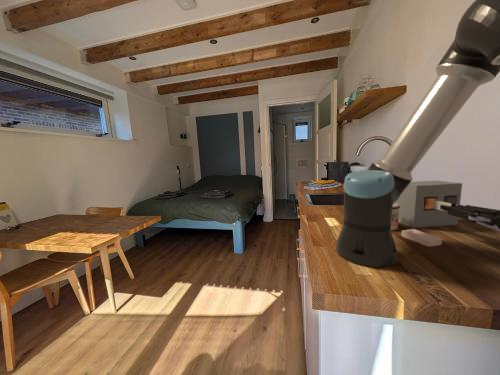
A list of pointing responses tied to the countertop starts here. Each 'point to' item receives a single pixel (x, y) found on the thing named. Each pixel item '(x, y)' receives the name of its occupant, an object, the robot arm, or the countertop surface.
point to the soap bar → (421, 237)
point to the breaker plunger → (429, 202)
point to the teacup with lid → (395, 216)
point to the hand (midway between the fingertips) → (435, 204)
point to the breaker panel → (414, 203)
